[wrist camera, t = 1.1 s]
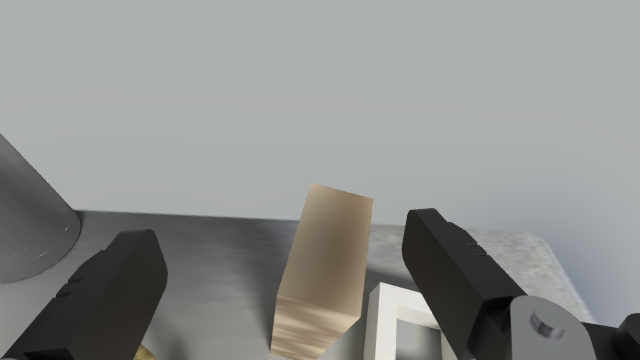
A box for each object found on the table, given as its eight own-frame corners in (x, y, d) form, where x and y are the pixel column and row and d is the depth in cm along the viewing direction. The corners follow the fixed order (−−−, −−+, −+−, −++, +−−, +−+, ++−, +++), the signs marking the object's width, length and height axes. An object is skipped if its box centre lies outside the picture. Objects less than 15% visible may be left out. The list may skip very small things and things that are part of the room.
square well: (358, 404, 25) (371, 404, 22) (369, 294, 32) (380, 282, 29) (466, 434, 25) (494, 438, 22) (454, 317, 32) (475, 307, 28)
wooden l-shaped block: (270, 353, 27) (277, 294, 13) (290, 281, 31) (311, 182, 17) (310, 364, 27) (360, 317, 13) (324, 291, 31) (373, 199, 17)
